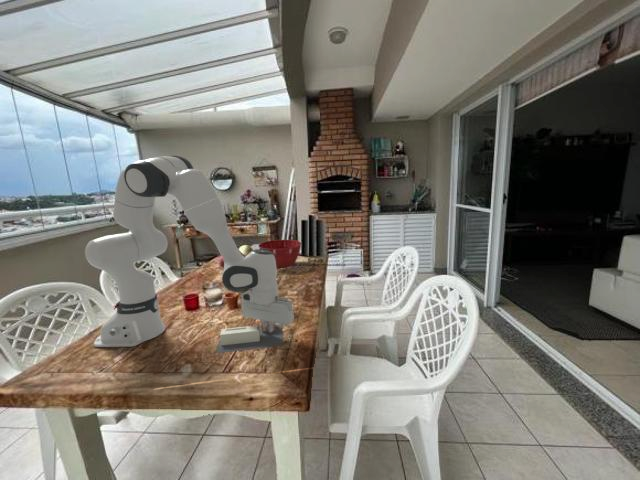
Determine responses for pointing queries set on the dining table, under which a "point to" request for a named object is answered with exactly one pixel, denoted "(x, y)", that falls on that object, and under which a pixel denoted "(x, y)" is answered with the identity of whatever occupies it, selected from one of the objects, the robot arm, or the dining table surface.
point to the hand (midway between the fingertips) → (268, 331)
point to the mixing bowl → (282, 251)
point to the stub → (268, 324)
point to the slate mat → (256, 345)
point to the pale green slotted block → (240, 335)
